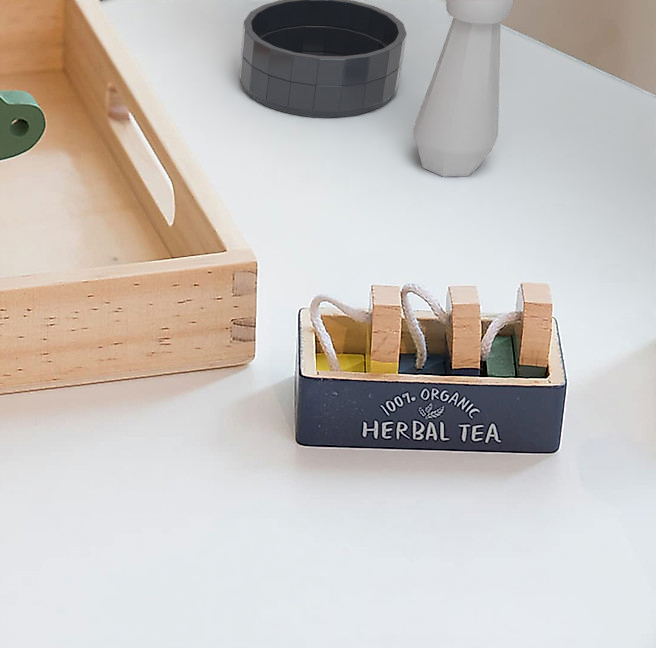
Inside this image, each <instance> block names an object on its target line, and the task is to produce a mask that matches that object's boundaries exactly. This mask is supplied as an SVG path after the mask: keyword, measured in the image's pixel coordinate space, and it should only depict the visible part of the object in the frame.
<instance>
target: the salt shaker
mask: <svg viewBox="0 0 656 648" xmlns="http://www.w3.org/2000/svg"><path fill="white" fill-rule="evenodd" d="M514 1H515V0H446V2H445V8H446V12H447V13H448V16H450V17H452V20H451V24H450V26H449V30H448V32H447V34H446V38H445V40H444V43H443V46H442V49H441V52H440V54H439V57H438V59H437V63H436V66H435V68H434V71H433V75H432V77H431V80H430V83H429V85H428V88H427V90H426V94H425V95H424V98H423V101H422V104H421V105H420V106H421V107H420V109H419V112H418V115H417V117H416V120H415V122H414V125H413V127H412V136H413V139H414V143H415V145H416V147H417V150H418V154H419V158H420V162H421V167H422V168H423V169H425V170H427V171H429V172H432V173H434V174H436V175H437V176H441V177H445V178H446V177H470V176H471V175H472V174H473V173H474V172H475V171H476V170H478V168H480V166H481V165H482V163H483V162H484V160H485V159H486V157H488V155H489V153H490V152H491V151H492V150H493V148H494V146H495V145H496V144H495V143H496V141H497V139H498V136H499V111H500V110H499V108H500V64H501V63H500V62H501V61H500V60H501V58H500V57H501V23H502V22H503V21H505V20H507V19H508V17H509V15H510V13H511V11H512V9H513V6H514Z"/></svg>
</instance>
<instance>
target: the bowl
mask: <svg viewBox="0 0 656 648" xmlns="http://www.w3.org/2000/svg"><path fill="white" fill-rule="evenodd" d="M241 35H242V36H241V48H240V60H239V79H240V82H241V84H242V86H243V88H244V90H245V92H246V93H247V94H248V95H249V97H250V98H252V99H253V100H254V101H256V102H258V103H260V104H262V105H264V106H266V107H268V108H270V109H273V110H276V111H280V112H283V113H287V114H292V115H296V116H303V117H312V118H343V117H351V116H358V115H362V114H365V113H369V112H372V111H375V110H377V109H379V108H381V107H383V106H384V105H385V104H387V103H388V102H389V101H390V100H391V98H392V96H394V95H395V94H396V92H397V89H398V88H399V85H400V82H401V75H402V68H403V60H404V56H405V55H404V54H405V48H406V41H407V35H408V33H407V30H406V27H405V24H404V22H403V21H401V20H400V19H399V18H397V17H396V16H395V15H394V14H393V13H391V12H390V11H389V12H388V11H387V10H385V9H382V8H380V7H378V6H375V5H372V4H368V3H366V2H365V3H364V2H361V1H357V0H276V1H272V2H268V3H265V4H262V5H260V6H258V7H257V8H255V9H253V10H250V12H249V13H248V14H247V16H246V17H245V18H244V20H243V25H242V34H241Z"/></svg>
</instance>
